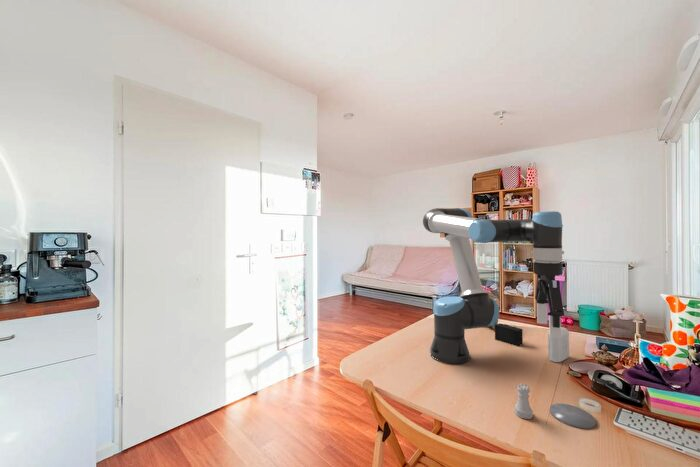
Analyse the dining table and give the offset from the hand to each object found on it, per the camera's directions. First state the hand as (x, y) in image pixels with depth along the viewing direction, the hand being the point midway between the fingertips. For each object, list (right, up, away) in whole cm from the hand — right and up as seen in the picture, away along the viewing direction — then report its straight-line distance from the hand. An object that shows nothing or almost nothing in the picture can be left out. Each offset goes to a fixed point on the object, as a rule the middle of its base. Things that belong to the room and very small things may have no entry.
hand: (548, 330), depth 90 cm
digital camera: (+11, -20, +43) cm, 49 cm away
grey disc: (-1, -20, -10) cm, 23 cm away
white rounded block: (+21, -20, +25) cm, 38 cm away
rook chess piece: (-13, -21, -9) cm, 26 cm away
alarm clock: (+11, -20, +63) cm, 67 cm away
